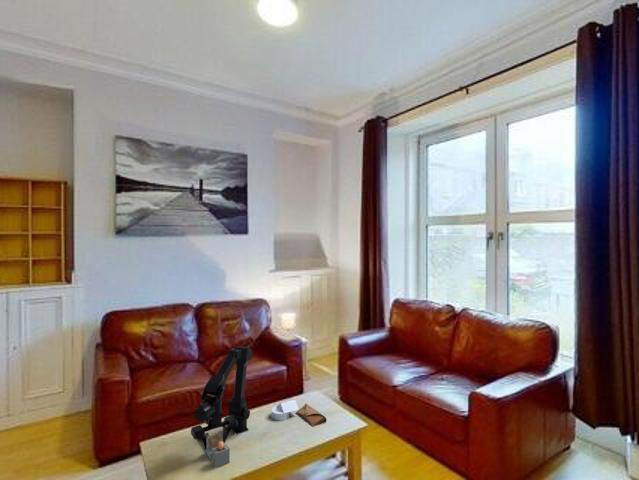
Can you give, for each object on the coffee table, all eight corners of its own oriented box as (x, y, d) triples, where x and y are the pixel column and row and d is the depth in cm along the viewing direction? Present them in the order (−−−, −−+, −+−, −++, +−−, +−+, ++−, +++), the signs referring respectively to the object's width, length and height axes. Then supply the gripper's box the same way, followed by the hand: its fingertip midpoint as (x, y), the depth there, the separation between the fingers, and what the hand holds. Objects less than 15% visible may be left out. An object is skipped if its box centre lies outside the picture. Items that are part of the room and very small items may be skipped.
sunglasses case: (293, 412, 196) (298, 400, 198) (302, 415, 200) (308, 403, 202) (313, 427, 182) (318, 413, 184) (322, 430, 186) (328, 417, 187)
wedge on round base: (291, 408, 201) (268, 414, 194) (291, 396, 201) (269, 401, 194) (298, 415, 193) (275, 422, 187) (299, 403, 193) (276, 408, 187)
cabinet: (225, 457, 157) (225, 443, 157) (229, 462, 154) (229, 448, 153) (211, 463, 153) (211, 448, 153) (215, 468, 150) (215, 453, 150)
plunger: (222, 447, 155) (222, 440, 155) (224, 450, 153) (224, 443, 153) (217, 449, 154) (217, 442, 153) (219, 452, 152) (219, 444, 152)
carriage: (219, 447, 163) (219, 432, 163) (224, 454, 159) (224, 439, 158) (204, 452, 160) (204, 437, 159) (209, 460, 155) (209, 444, 155)
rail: (207, 436, 173) (207, 432, 173) (223, 457, 157) (223, 452, 157) (197, 439, 170) (197, 435, 170) (212, 461, 154) (212, 457, 154)
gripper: (228, 397, 171) (227, 431, 171) (186, 409, 160) (186, 444, 160) (238, 407, 162) (237, 442, 162) (195, 419, 151) (194, 457, 151)
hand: (214, 446), depth 159 cm, fingers open, 8 cm apart
